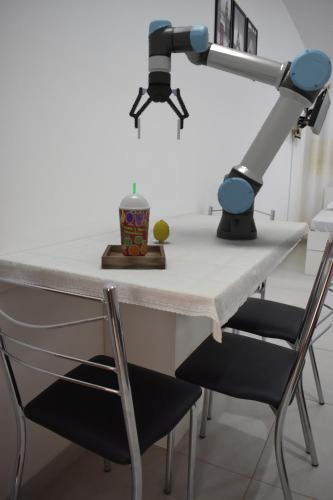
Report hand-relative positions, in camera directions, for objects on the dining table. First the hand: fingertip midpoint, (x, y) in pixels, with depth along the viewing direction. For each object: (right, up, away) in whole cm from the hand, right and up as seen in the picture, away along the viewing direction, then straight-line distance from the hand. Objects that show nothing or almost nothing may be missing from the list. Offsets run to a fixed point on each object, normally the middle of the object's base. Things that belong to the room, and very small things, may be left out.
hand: (158, 139), depth 134 cm
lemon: (+1, -36, -2) cm, 36 cm away
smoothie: (-6, -40, -28) cm, 50 cm away
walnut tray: (-6, -41, -28) cm, 50 cm away
